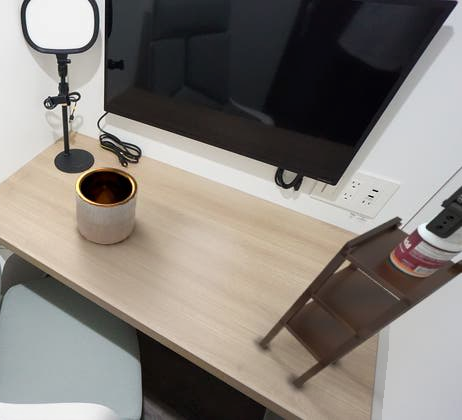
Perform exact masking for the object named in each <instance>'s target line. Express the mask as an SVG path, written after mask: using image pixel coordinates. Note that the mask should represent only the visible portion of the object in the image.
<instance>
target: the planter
mask: <svg viewBox="0 0 462 420" xmlns="http://www.w3.org/2000/svg"><path fill="white" fill-rule="evenodd" d="M138 191H139V186H138V183H137V180H136V179H135V177H134V176H133V175H131V173H129V172H127V171H125V170H124V169H121V168H115V167H108V166H107V167H106V166H105V167H104V166H103V167H96V168H93V169H90V170H87V171H85V172H84V173H82V174H81V175H80V176H79V177H78V178H77V180H76V181H75V184H74V192H75V193H74V194H75V216H76V217H75V218H76V219H75V221H76V227H77V230H78V231H79V232H80V235H82V237H84V238H85V239H87V240H88V241H90V242H92V243H95V244H101V245H111V244H117V243H119V242H121V241H124V240H125V239H126V238H128V237H129V236H130V235H131V233H132V231H133V230H134V226H135V219H136V211H137V201H138V193H139V192H138Z"/></svg>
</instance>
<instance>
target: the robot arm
mask: <svg viewBox="0 0 462 420" xmlns="http://www.w3.org/2000/svg"><path fill="white" fill-rule="evenodd" d="M440 207H442V208H443V209H442V210H441V211H440V212H439V213H437V214H438V215H437V214H436V215H437V216H436V217H435V218H434V219H432V218H431V219H432V220H431V219H430V220H431V221H430V220H429V221H430V222H429V221H428V222H429V223H428V222H427V223H428V224H427V225H426V229H427V230H428V231H430V232H431V233H433V234H435V235H436V236H438V237H440V238H442V239H446V238H448V237H450V236H451V235H452V234H454V233H455V232H456V231H457V230H458V229H460V228H461V227H462V185H461V186H460V187H458V188H457V189H456V191H454V192H452V194H451V195H449V197H447V198H446V199H443V201H442V203H441V204H440Z"/></svg>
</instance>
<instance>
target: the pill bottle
mask: <svg viewBox="0 0 462 420" xmlns="http://www.w3.org/2000/svg"><path fill="white" fill-rule="evenodd" d="M438 214H439V213H436V214H435V215H434V216H433V217H432V218H431V219H430V220H429V221H428V222H424V223H421V224H419V225H418V226H417V227H416V228H415V229H414V230H413V231H411V233H410V234H409V236H408V237H407V238H406V239H405V240H404V241H403V242H402V243H401V244H400V245H398V247H396V248H395V249H394V250H393V251H392V252H391V254H390V258H391V261H392V262H393V264H394V265H395V266H396V267H398V268H399V269H400V270H402V271H403V272H405V273H407V274H409V275H412V276H416V277H427V276H429V275H431V274H432V273H434V272H435V271H436V270H437V269H439V268H440V267H441V266H443V265H444V264H446V263H447V262H448V261H449V260H451V261H452V259H453V258H455V257H456V256H457V255H459V254H460V253H462V227H461V228H460V229H458V230H457V231H456V232H455V233H454V234H452V235H451V236H450V237H448V238H446V239H442V238H440V237H438V236H436V235H435V234H433V233H431V232H430V231H428V230H427V229H426V225H427V224H428V223H429V222H430V221H431V220H432V219H434V218H435V217H436V216H437V215H438Z"/></svg>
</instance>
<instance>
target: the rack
mask: <svg viewBox="0 0 462 420" xmlns="http://www.w3.org/2000/svg"><path fill="white" fill-rule="evenodd" d="M402 221H403V218H401V217H399V216H397V215H396V216H395V217H393V218H391V219H389V220H387V221H385V222H383V223H381V224H379V225H377V226H375V227H373V228H371V229H369V230H367V231H365V232H364V233H361V234H360V235H357V236H356V237H354V238H352V239H350V240H348V241H346V242H345V243H344V245H343V246H342V247H341V248H340V249H339V250H338V251H337V252H336V254H335V255H334V256H333V257H332V258H331V260H330V261H329V262H328V263H327V264H326V266H324V267H323V269H322V270H321V272H319V274H318V275H317V276H316V277H315V278H314V279H313V280H312V282H311V283H310V284H309V285H308V286H307V287H306V288H305V290H303V292H302V293H301V294H300V295H299V296H298V298H297V299H296V300H295V301H294V302H293V304H292V305H291V306H290V307H289V308H288V309H287V310H286V312H284V314H283V315H282V316H281V318H280V319H279V320H278V321H277V322H276V323H275V324H274V325H273V327H272V328H271V329H270V330H269V331H268V332H267V334H265V336H264V337H263V338H262V339H261V341H260V342H259V343H258V345H259V346H260V347H261V349H265V348H267V347H268V345H270V343H271V342H272V341H273V340H274V339H275V338H276V337H277V336H278V335H279V334H280V333H281V331H282V330H283V329H284V328H285V329H286V330H287V332H289V333H290V334H291V336H292V337H293V338H294V339H295V340H296V341H297V342H298V343H299V344H300V345H301V346H302V347H303V348H304V349H305V350H306V352H308V353H309V354H310V355H311V356H312V358H314V360H316V361H317V363H316V364H314V365H313V366H311V367H310V368H309V369H307V370H306V371H305V372H303V373H301V375H299V376H298V377H297V378H296V379H294V380H293V381H292V382H291V383H292V384H293V385H294V387H295V388H296V389H297V388H298V389H299V387H301V386H302V385H304V384H305V383H307V382H308V381H310V380H311V379H313V377H315V376H317V374H319V373H320V372H322V371H324V370H325V369H326V368H327V367H329V366H330V365H334V364H335V363H337V362H338V361H340V360H341V359H342V358H344V357H345V356H347V355H348V354H349V353H351V352H352V351H354V350H355V349H356V348H358V347H359V346H361V345H362V344H363V343H365V342H367V341H368V340H369V339H370V338H372V337H374V336H375V335H376V334H377V333H379V332H381V331H382V330H383V329H385V328H386V327H388V326H389V325H391V324H392V323H393V322H396V320H398V319H399V318H400V317H402V316H403V315H405V314H406V313H407V312H409V311H410V310H412V309H413V308H415V307H416V306H417V305H419V304H420V303H422V302H423V301H424V300H426V299H427V298H429V297H430V296H432V295H433V294H435V292H437V291H438V290H440V289H441V288H443V287H444V286H445V285H447V284H448V283H449V282H451V281H453V280H454V279H456V278H457V277H458V276H460V275H461V274H462V259H459V260H458V261H456V262H454V261H453V260H452V259H451V260H449V261H448V262H447V263H446V264H444V265H443V266H441V267H440V268H439V269H437V270H436V271H435V272H434V273H432V274H431V275H429V276H427V277H416V276H412V275H409V274H407V273H405V272H403V271H402V270H400V269H399V268H398V267H396V266H395V265H394V264H393V262H392V261H391V258H390V254H391V252H392V251H393V250H394V249H395V248H396V247H398V245H400V244H401V243H402V242H403V241H404V240H405V239H406V238H407V237H408V236H409V235H410V234H409V233H407V232H406V231H404V230H403V229H401V228H400V227H402V226H403V223H402ZM346 261H348V262H349V264H348V265H347V266H345V267H343V268H342V269H340V270H339V268H340V267H341V266H343V264H344V263H345V262H346ZM311 299H312V300H311ZM310 300H311V301H310Z"/></svg>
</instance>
